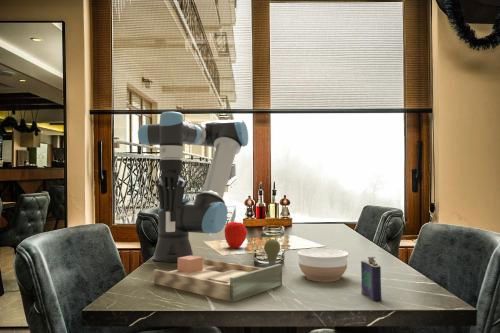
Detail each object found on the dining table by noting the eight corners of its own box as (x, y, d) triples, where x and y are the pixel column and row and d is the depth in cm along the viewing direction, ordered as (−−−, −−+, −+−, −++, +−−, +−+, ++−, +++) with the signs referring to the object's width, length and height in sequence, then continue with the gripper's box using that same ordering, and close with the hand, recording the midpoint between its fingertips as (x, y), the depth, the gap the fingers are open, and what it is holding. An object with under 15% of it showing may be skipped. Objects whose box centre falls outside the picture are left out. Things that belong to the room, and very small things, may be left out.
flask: (359, 292, 118) (359, 253, 118) (369, 292, 118) (369, 253, 119) (373, 302, 109) (373, 260, 109) (384, 302, 109) (384, 259, 109)
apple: (250, 247, 195) (250, 220, 195) (238, 250, 186) (238, 222, 187) (232, 245, 200) (232, 219, 200) (220, 248, 192) (220, 220, 192)
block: (177, 270, 134) (177, 257, 134) (190, 267, 138) (190, 255, 139) (189, 273, 131) (189, 260, 131) (202, 270, 135) (202, 257, 135)
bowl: (317, 286, 125) (317, 258, 125) (287, 275, 139) (287, 250, 140) (359, 280, 133) (359, 254, 133) (327, 270, 147) (327, 246, 147)
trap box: (153, 283, 128) (153, 263, 128) (205, 270, 146) (205, 252, 146) (233, 302, 109) (233, 278, 109) (281, 284, 126) (281, 264, 126)
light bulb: (282, 266, 152) (281, 238, 152) (277, 269, 147) (277, 240, 147) (266, 265, 154) (266, 237, 154) (262, 268, 149) (262, 239, 149)
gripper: (149, 159, 142) (148, 231, 141) (175, 158, 134) (175, 234, 133) (166, 160, 148) (166, 229, 147) (193, 159, 140) (192, 232, 139)
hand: (170, 231), depth 140 cm, fingers closed
